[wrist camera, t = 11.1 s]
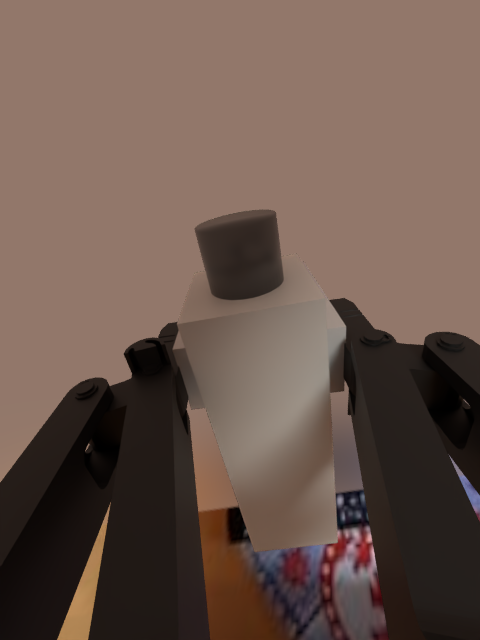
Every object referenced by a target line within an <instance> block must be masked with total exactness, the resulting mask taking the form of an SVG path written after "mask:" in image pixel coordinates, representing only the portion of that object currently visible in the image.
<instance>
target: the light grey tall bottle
mask: <svg viewBox="0 0 480 640" xmlns="http://www.w3.org/2000/svg"><path fill="white" fill-rule="evenodd" d="M195 233H196V236H197V240H198V244H199V248H200V252H201V256H202V260H203V263H204V267H205V271H202V272H196V273H194V275H193V278H192V281H191V284H190V287H189V290H188V293H187V296H186V299H185V302H184V305H183V308H182V311H181V314H180V317H179V320H178V322H177V326H178V329H179V332H180V335H181V338H182V341H183V344H184V347H185V350H186V352H187V355H188V358H189V361H190V364H191V367H192V370H193V373H194V376H195V379H196V382H197V385H198V388H199V391H200V394H201V396H202V399H203V402H204V405H205V408H206V411H207V414H208V417H209V420H210V423H211V426H212V429H213V431H214V435H215V437H216V440H217V443H218V446H219V449H220V452H221V455H222V458H223V461H224V464H225V467H226V470H227V473H228V476H229V478H230V481H231V484H232V487H233V490H234V493H235V496H236V499H237V502H238V505H239V508H240V511H241V514H242V517H243V520H244V522H245V525H246V528H247V531H248V534H249V537H250V540H251V543H252V546H253V549H254V552H260V551H269V550H277V549H286V548H295V547H304V546H313V545H322V544H330V543H338V537H337V518H336V498H335V479H334V458H333V439H332V420H331V399H330V379H329V360H328V340H327V320H326V300H325V297H324V295H323V294H322V292H321V291H320V289H319V287H318V286H317V284H316V283H315V281H314V280H313V278H312V277H311V275H310V274H309V272H308V270H307V269H306V267H305V266H304V264H303V263H302V261H301V260H300V258H299V256H298V255H297V254H292V255H287V256H281V251H280V242H279V234H278V227H277V218H276V212H275V211H272V210H252V211H244V212H239V213H233V214H229V215H225V216H221V217H218V218H214V219H212V220H208V221H206V222H204V223H201V224H199V225H198V226H197V227H196V228H195Z"/></svg>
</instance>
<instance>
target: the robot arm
mask: <svg viewBox="0 0 480 640" xmlns="http://www.w3.org/2000/svg"><path fill="white" fill-rule="evenodd" d="M302 263H303V264H304V266H305V267H306V269H307V270H308V272H309V274H310V275H311V277H312V278H313V280H314V281H315V283H316V284H317V286H318V287H319V289H320V291H321V292H322V294H323V295H324V297H325V300H326V320H327V340H328V360H329V379H330V393H332V392H341V391H344V379H345V381H346V383H347V385H348V387H349V400H348V415H351V417H352V423H353V429H354V435H355V441H356V447H357V452H358V458H359V464H360V470H361V476H362V482H363V488H364V494H365V500H366V506H367V512H368V517H369V523H370V529H371V535H372V541H373V547H374V553H375V559H376V565H377V571H378V576H379V582H380V588H381V594H382V600H383V606H384V612H385V618H386V624H387V630H388V635H389V640H480V522H479V520H478V518H477V515H476V513H475V511H474V509H473V507H472V505H471V502H470V500H469V498H468V496H467V494H466V492H465V489H464V487H463V485H462V483H461V481H460V479H459V476H458V474H457V472H456V470H455V468H454V466H453V463H452V461H451V459H450V457H451V458H452V459H453V460H454V462H455V463H456V465H457V466H458V467H459V469H460V470H461V471H462V473H463V474H464V475H465V476H466V478H467V479H468V480H469V482H470V483H471V484H472V486H473V487H474V488H475V490H476V491H477V492H478V494H479V495H480V345H479V344H477V343H475V342H474V341H473V340H471V339H469V338H468V337H466V336H463V335H460V334H457V333H452V332H451V333H450V332H436V333H432V334H429V335H428V336H427V337H425V341H424V345H414V344H401V343H397V342H396V340H395V339H394V337H393V336H392V335H390V334H388V333H387V332H385V331H381V330H376V329H374V328H373V326H372V325H371V324H370V323H369V321H367V319H366V318H365V317H364V315H362V313H361V312H360V310H358V308H357V307H356V305H355V304H354V303H353V302H351V301H349V300H347V299H345V298H341V299H334V300H329V299H328V298H327V296H326V295H325V293H324V292H323V290H322V289H321V287H320V286H319V284H318V283H317V281H316V280H315V278H314V277H313V275H312V274H311V272H310V270H309V269H308V267H307V266H306V264H305V263H304V262H302ZM124 356H125V358H126V360H127V363H128V365H129V368H130V370H131V372H132V378H131V379H129V380H126V381H124V382H121V383H118V384H115V385H112V386H109V384H108V382H107V380H106V379H104V378H92V379H88V380H85V381H82V382H80V383H79V384H78V385H76V386H75V387H73V388H72V389H71V390H70V391H69V392H68V393H67V394H66V396H65V397H64V398H63V400H62V401H61V402H60V404H59V405H58V406H57V408H56V409H55V410H54V412H53V413H52V415H51V416H50V417H49V418H48V420H47V421H46V423H45V424H44V425H43V426H42V428H41V429H40V430H39V432H38V433H37V435H36V436H35V437H34V439H33V440H32V441H31V442H30V444H29V445H28V446H27V448H26V449H25V450H24V452H23V453H22V455H21V456H20V457H19V458H18V460H17V461H16V463H15V464H14V465H13V466H12V468H11V469H10V471H9V472H8V473H7V474H6V476H5V477H4V479H3V480H2V481H1V482H0V640H57V638H58V636H59V633H60V631H61V628H62V626H63V623H64V620H65V618H66V615H67V613H68V610H69V608H70V605H71V602H72V600H73V597H74V595H75V592H76V590H77V587H78V584H79V582H80V579H81V577H82V574H83V572H84V569H85V566H86V564H87V561H88V559H89V556H90V554H91V551H92V548H93V546H94V543H95V541H96V538H97V536H98V533H99V530H100V528H101V525H102V523H103V520H104V517H105V515H106V512H107V510H108V507H109V505H110V502H111V505H110V511H109V517H108V523H107V529H106V535H105V541H104V547H103V553H102V560H101V566H100V572H99V578H98V584H97V590H96V596H95V602H94V608H93V614H92V620H91V626H90V632H89V638H88V640H210V634H209V623H208V613H207V602H206V591H205V580H204V570H203V559H202V548H201V538H200V527H199V516H198V506H197V495H196V485H195V474H194V464H193V452H192V441H191V431H190V420H189V416H188V413H187V410H186V408H187V402H188V400H189V403H190V406H191V409H200V408H205V405H204V402H203V399H202V396H201V394H200V391H199V388H198V385H197V382H196V379H195V376H194V373H193V370H192V367H191V364H190V361H189V358H188V355H187V352H186V350H185V347H184V344H183V341H182V338H181V335H180V332H179V329H178V326H177V322H175V323H168V324H167V325H166V326H165V327H164V328H163V329H162V330H161V332H160V334H159V336H158V338H146V339H143V340H140V341H138V342H136V343H134V344H132V345H131V346H130V347H128V348H127V349H126V351H125V353H124ZM463 399H464V400H465V401H466V402H467V403H468V404H469V405H470V406H469V405H468V404H467V403H466V402H465V401H464V400H463ZM88 443H89V444H90V445H89V447H88V449H87V450H86V447H87V445H88ZM85 450H86V451H85ZM448 454H449V455H450V457H449V455H448Z"/></svg>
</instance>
